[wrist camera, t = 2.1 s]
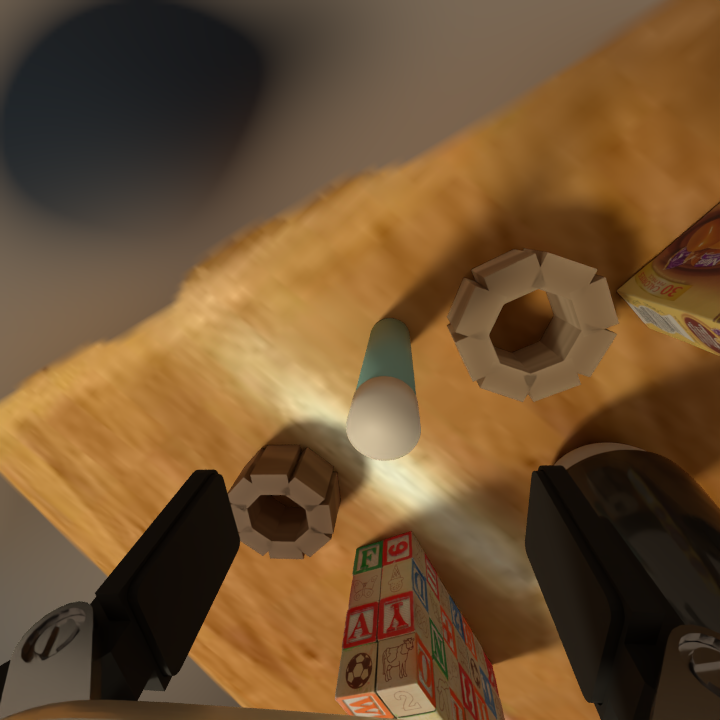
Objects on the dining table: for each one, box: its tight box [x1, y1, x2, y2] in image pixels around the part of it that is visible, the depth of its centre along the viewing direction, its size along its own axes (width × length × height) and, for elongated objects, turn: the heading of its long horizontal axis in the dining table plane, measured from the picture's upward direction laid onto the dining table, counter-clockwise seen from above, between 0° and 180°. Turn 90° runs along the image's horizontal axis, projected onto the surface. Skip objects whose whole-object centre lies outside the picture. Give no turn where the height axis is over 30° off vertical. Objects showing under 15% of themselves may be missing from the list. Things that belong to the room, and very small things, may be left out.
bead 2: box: [447, 248, 619, 402], centre depth 23 cm, size 9×9×4 cm
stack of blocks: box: [335, 531, 505, 720], centre depth 31 cm, size 21×6×12 cm, turn 29°
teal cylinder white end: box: [346, 318, 421, 461], centre depth 21 cm, size 3×3×13 cm
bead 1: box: [227, 445, 341, 559], centre depth 31 cm, size 9×9×4 cm
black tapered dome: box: [554, 442, 720, 633], centre depth 22 cm, size 10×10×15 cm
